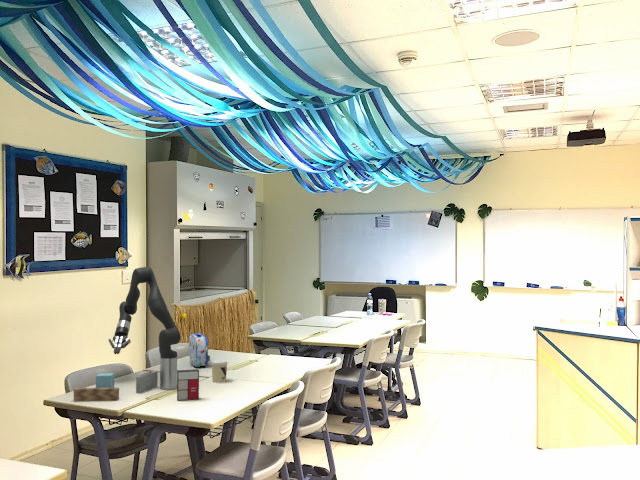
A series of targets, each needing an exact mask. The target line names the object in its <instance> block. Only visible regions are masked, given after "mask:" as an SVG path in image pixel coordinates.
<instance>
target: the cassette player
mask: <svg viewBox="0 0 640 480" xmlns="http://www.w3.org/2000/svg"><path fill="white" fill-rule="evenodd" d="M158 373H159V371H158V370H148V371H146V372H142V373H139V374H138V376H137V375H136V377H135V378H136V379H135V382H136V383H135V384H136V385H135V393H136V394H143V393H145V391H146V392H147V391H148V392H149V391H150V390H152V389H156V388H158V375H159V374H158Z"/></svg>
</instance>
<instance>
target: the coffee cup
mask: <svg viewBox="0 0 640 480" xmlns="http://www.w3.org/2000/svg"><path fill="white" fill-rule="evenodd" d="M227 370H228V361H227V360H226V359H215V360H211V376H212V379H211V380H212V383H214V382H223V383H225V382H224V381H227Z"/></svg>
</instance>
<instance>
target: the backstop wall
mask: <svg viewBox="0 0 640 480" xmlns="http://www.w3.org/2000/svg"><path fill="white" fill-rule="evenodd" d="M119 399H120V387H114V388H96V387H75V388H74V389H73V402H99V401H100V402H104V401H105V402H107V401H108V402H109V401H110V402H111V401H115V402H116V401H119Z"/></svg>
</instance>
